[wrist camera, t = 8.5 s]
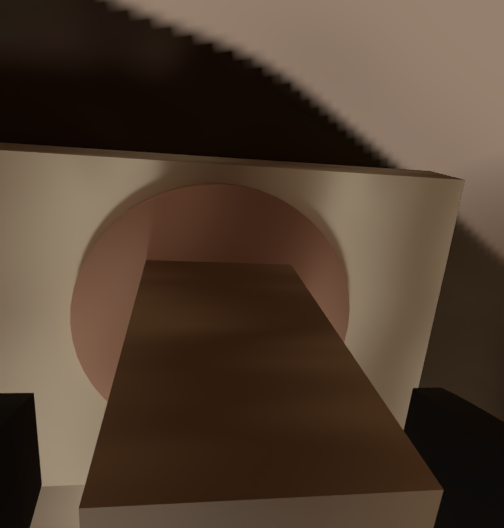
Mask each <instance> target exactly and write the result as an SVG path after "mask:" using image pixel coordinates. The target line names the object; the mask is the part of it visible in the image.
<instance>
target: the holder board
mask: <svg viewBox="0 0 504 528" xmlns="http://www.w3.org/2000/svg"><path fill="white" fill-rule="evenodd" d="M464 182H465V180H463V179H459V178H455V177H451V176H447V175H443V174H439V173H435V172H431V171H420V170H405V169H390V168H375V167H360V166H345V165H330V164H315V163H300V162H285V161H270V160H255V159H240V158H225V157H210V156H195V155H180V154H165V153H150V152H135V151H120V150H105V149H90V148H75V147H60V146H45V145H30V144H15V143H0V393H34V400H35V411H36V423H37V434H38V445H39V457H40V468H41V480H42V486H41V490H40V494H39V497H38V501H37V504H36V508H35V512H34V515H33V519H32V522H31V525H30V528H80V524H79V505H80V502H81V498H82V494H83V491H84V487H85V483H86V480H87V476H88V472H89V468H90V465H91V461H92V457H93V454H94V450H95V446H96V443H97V439H98V435H99V432H100V428H101V424H102V420H103V417H104V413H105V409H106V406H107V402H108V398H109V395H110V391H111V387H112V384H113V380H114V376H115V372H116V369H117V365H118V361H119V358H120V354H121V350H122V347H123V343H124V339H125V336H126V332H127V328H128V325H129V321H130V317H131V313H132V310H133V306H134V302H135V299H136V295H137V291H138V288H139V284H140V280H141V277H142V273H143V269H144V265H145V262H146V260H161V261H193V262H225V263H257V264H289V265H292V267H293V268H294V269H295V271H296V272H297V274H298V275H299V277H300V278H301V280H302V281H303V283H304V284H305V286H306V287H307V289H308V290H309V292H310V293H311V295H312V296H313V298H314V299H315V300H316V302H317V303H318V305H319V306H320V308H321V309H322V311H323V312H324V314H325V315H326V317H327V318H328V320H329V321H330V323H331V324H332V326H333V327H334V329H335V330H336V332H337V333H338V334H339V336H340V337H341V339H342V340H343V342H344V343H345V345H346V346H347V348H348V349H349V351H350V352H351V354H352V355H353V357H354V358H355V360H356V361H357V363H358V364H359V365H360V367H361V368H362V370H363V371H364V373H365V374H366V376H367V377H368V379H369V380H370V382H371V383H372V385H373V386H374V388H375V389H376V391H377V392H378V394H379V395H380V396H381V398H382V399H383V401H384V402H385V404H386V405H387V407H388V408H389V410H390V411H391V413H392V414H393V416H394V417H395V419H396V420H397V422H398V423H399V425H400V426H401V427H402V429H403V430H404V426H405V422H406V417H407V413H408V408H409V404H410V399H411V394H412V390H413V388H418V386H419V382H420V377H421V373H422V368H423V364H424V360H425V355H426V351H427V346H428V342H429V337H430V333H431V329H432V324H433V320H434V315H435V311H436V306H437V302H438V298H439V293H440V289H441V284H442V280H443V275H444V271H445V267H446V262H447V258H448V253H449V249H450V244H451V240H452V236H453V231H454V227H455V222H456V218H457V213H458V209H459V205H460V200H461V196H462V191H463V187H464Z"/></svg>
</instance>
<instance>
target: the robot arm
mask: <svg viewBox="0 0 504 528" xmlns="http://www.w3.org/2000/svg"><path fill="white" fill-rule="evenodd" d="M404 432H405V433H406V435H407V436H408V438H409V439H410V441H411V442H412V444H413V445H414V447H415V448H416V450H417V451H418V453H419V454H420V456H421V457H422V459H423V460H424V461H425V463H426V464H427V466H428V467H429V469H430V470H431V472H432V473H433V475H434V476H435V478H436V479H437V481H438V482H439V484H440V485H441V487H442V488H443V494H442V498H441V502H440V505H439V509H438V513H437V516H436V520H435V524H434V528H504V422H503V421H501V420H499V419H498V418H496V417H494V416H492V415H491V414H489V413H487V412H486V411H484V410H482V409H480V408H479V407H477V406H475V405H473V404H472V403H470V402H468V401H466V400H464V399H463V398H461V397H459V396H457V395H455V394H453V393H451V392H449V391H447V390H445V389H443V388H413V390H412V394H411V399H410V404H409V408H408V413H407V417H406V422H405V426H404ZM41 486H42V480H41V468H40V457H39V445H38V434H37V423H36V411H35V400H34V393H0V528H30V525H31V522H32V519H33V515H34V512H35V508H36V504H37V501H38V497H39V494H40V490H41Z"/></svg>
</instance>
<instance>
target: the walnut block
mask: <svg viewBox="0 0 504 528" xmlns="http://www.w3.org/2000/svg"><path fill="white" fill-rule="evenodd" d="M442 494H443V488H442V487H441V485H440V484H439V482H438V481H437V479H436V478H435V476H434V475H433V473H432V472H431V470H430V469H429V467H428V466H427V464H426V463H425V461H424V460H423V459H422V457H421V456H420V454H419V453H418V451H417V450H416V448H415V447H414V445H413V444H412V442H411V441H410V439H409V438H408V436H407V435H406V433H405V432H404V430H403V429H402V427H401V426H400V425H399V423H398V422H397V420H396V419H395V417H394V416H393V414H392V413H391V411H390V410H389V408H388V407H387V405H386V404H385V402H384V401H383V399H382V398H381V396H380V395H379V394H378V392H377V391H376V389H375V388H374V386H373V385H372V383H371V382H370V380H369V379H368V377H367V376H366V374H365V373H364V371H363V370H362V368H361V367H360V365H359V364H358V363H357V361H356V360H355V358H354V357H353V355H352V354H351V352H350V351H349V349H348V348H347V346H346V345H345V343H344V342H343V340H342V339H341V337H340V336H339V334H338V333H337V332H336V330H335V329H334V327H333V326H332V324H331V323H330V321H329V320H328V318H327V317H326V315H325V314H324V312H323V311H322V309H321V308H320V306H319V305H318V303H317V302H316V300H315V299H314V298H313V296H312V295H311V293H310V292H309V290H308V289H307V287H306V286H305V284H304V283H303V281H302V280H301V278H300V277H299V275H298V274H297V272H296V271H295V269H294V268H293V267H292V265H289V264H257V263H225V262H193V261H161V260H146V262H145V265H144V269H143V273H142V277H141V280H140V284H139V288H138V291H137V295H136V299H135V302H134V306H133V310H132V313H131V317H130V321H129V325H128V328H127V332H126V336H125V339H124V343H123V347H122V350H121V354H120V358H119V361H118V365H117V369H116V372H115V376H114V380H113V384H112V387H111V391H110V395H109V398H108V402H107V406H106V409H105V413H104V417H103V420H102V424H101V428H100V432H99V435H98V439H97V443H96V446H95V450H94V454H93V457H92V461H91V465H90V468H89V472H88V476H87V480H86V483H85V487H84V491H83V494H82V498H81V502H80V505H79V524H80V528H434V524H435V520H436V516H437V513H438V509H439V505H440V502H441V498H442Z"/></svg>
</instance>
